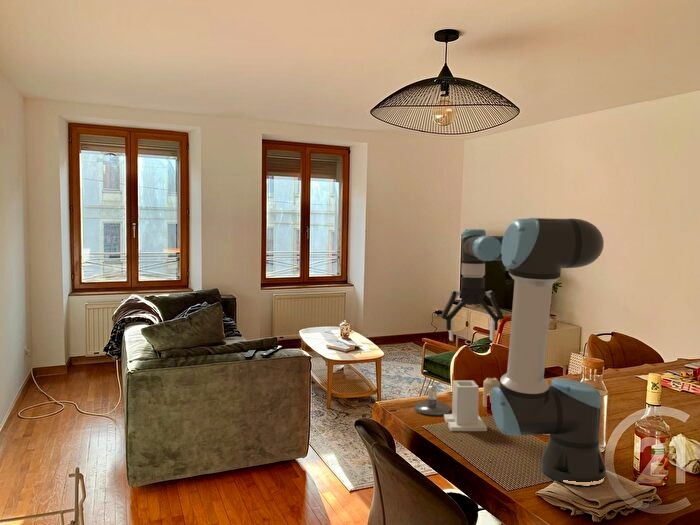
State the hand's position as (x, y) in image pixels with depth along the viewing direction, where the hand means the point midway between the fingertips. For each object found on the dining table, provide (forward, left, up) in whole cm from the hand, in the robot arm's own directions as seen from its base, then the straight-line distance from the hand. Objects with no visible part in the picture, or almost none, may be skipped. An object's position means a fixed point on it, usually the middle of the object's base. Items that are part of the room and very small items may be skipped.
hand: (471, 340), depth 175 cm
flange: (-11, +4, -24) cm, 27 cm away
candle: (+5, -9, -25) cm, 27 cm away
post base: (+2, +12, -24) cm, 27 cm away
